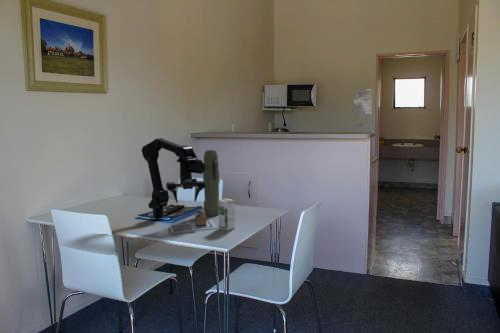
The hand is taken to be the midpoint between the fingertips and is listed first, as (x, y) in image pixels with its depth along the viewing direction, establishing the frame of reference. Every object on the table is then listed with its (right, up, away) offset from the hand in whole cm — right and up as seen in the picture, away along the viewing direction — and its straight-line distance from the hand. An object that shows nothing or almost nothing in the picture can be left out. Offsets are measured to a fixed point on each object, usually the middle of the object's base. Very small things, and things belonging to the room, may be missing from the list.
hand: (186, 202), depth 222 cm
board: (+8, -12, -1) cm, 14 cm away
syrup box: (+21, -13, -7) cm, 25 cm away
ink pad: (-1, -13, -8) cm, 15 cm away
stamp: (+8, -11, -2) cm, 14 cm away
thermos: (+11, -8, +21) cm, 26 cm away
